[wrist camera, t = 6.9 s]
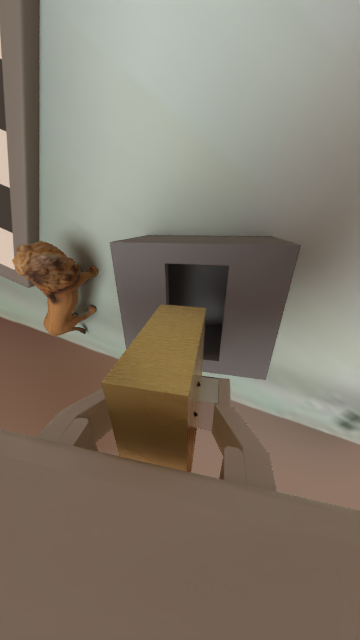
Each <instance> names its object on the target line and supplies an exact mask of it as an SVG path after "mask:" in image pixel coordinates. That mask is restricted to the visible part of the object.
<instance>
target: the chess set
mask: <svg viewBox="0 0 360 640" xmlns="http://www.w3.org/2000/svg"><path fill="white" fill-rule="evenodd" d="M37 242H39V0H0V275H1V276H3V277H5V278H7V279H10V280H12V281H14V282H16V283H19V284H21V285H23V286H25V287H28V288H30V287H33V286H35V285H34V284H33V283H32V281H31V280H27V279H26V277H25V276H20V275H18V273H17V272H16V269H15V267H14V264H13V261H12V259H14V256H16V255H17V250H16V248H17V246H18V245H22V244H28V245H29V244H33V243H37Z"/></svg>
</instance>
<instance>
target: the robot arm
mask: <svg viewBox="0 0 360 640" xmlns="http://www.w3.org/2000/svg"><path fill="white" fill-rule="evenodd" d="M194 427H195V428H200V429H205V430H209V431H212V433H213V436H214V438H215V440H216V442H217V444H218V446H219V448H220V451H221V452H222V455H223V461H222V466H221V472H220V478H219V479H218V478H213V477H209V476H205V475H200V474H196V473H191V472H187V471H182V470H178V469H173V468H169V467H165V466H160V465H156V464H151V463H147V462H142V461H138V460H133V459H129V458H124V457H120V456H115V455H111V454H107V453H102V452H98V449H97V446H96V442H97V441H98V440H99V439H101V438H102V437H103V436H104V435H105V434H106V433H107V432H109V431H110V430H111V429H112V424H111V420H110V416H109V412H108V408H107V404H106V400H105V396H104V392H103V388H102V389H100V390H98V391H96V392H95V393H93V394H91V395H89V396H88V397H86V398H84V399H82V400H80V401H78V402H77V403H75V404H73V405H71V406H69V407H67V408H65V409H64V410H62V411H60V412H59V413H58V414H57V415H56V416H55V417H54V418H53V419H52V420H51V422H50V423H49V424H48V425H47V426H46V427H45V429H44V430H43V431H42V432H41V433H40V434H39V435H38V437H37V438H35V437H31V436H27V435H22V434H17V433H13V432H9V431H4V430H0V640H360V510H356V509H351V508H346V507H342V506H338V505H333V504H329V503H325V502H320V501H316V500H311V499H307V498H302V497H298V496H294V495H289V494H285V493H280V492H277V491H276V486H275V481H274V475H273V470H272V465H271V460H270V456H269V453H268V452H267V450H266V449H265V447H264V446H263V445H262V443H261V442H260V441H259V439H258V438H257V437H256V435H255V434H254V433H253V431H252V430H251V429H250V427H249V426H248V425H247V423H246V422H245V421H244V419H243V418H242V417H241V415H240V414H239V413H238V411H237V410H236V409H235V407H232V406H231V398H230V380H229V379H223V378H214V377H206V376H199V380H198V388H197V393H196V399H195V420H194Z"/></svg>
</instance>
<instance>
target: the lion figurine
mask: <svg viewBox="0 0 360 640" xmlns="http://www.w3.org/2000/svg"><path fill="white" fill-rule="evenodd" d="M16 250H17V255H16V256H14V259H12V261H13V264H14V267H15V269H16V272H17V273H18V275H20V276H25V277H26V279H27V280H31V281H32V283H33V284H34V285H35V286H36V287H37V288H39V289H40V290H41V291H43V293H44V294H45V295H46V296H47V297H48V313H47V316H46V317H45V319H44V326H45V328H46V330H48V332H49V333H50V334H51V335H53V336H57V335H61V334H64V333H67V332H70V331H73V330H78V331H80V332H82V333H84V334H86V331H85V329H83V328H80V327H74V326H75V325H76V324H77V323H79V322H80V321H81V320H84V319H86V318H87V317H88V316H90V315H91V314H93V313H94V312H96V308H95V307H94V306H92V305H91V306H89V307H88V310H87V312H86V313H84V314H83V315H80V316H77V315H76V314H75V313H74V314H72V312H73V311H74V309H75V307H76V305H77V302H78V296H79V295H78V287H79V286H81V285H82V284H83V283H84V282H86V281H87V280H89V279H90V278H92V277H94V276H96V275H97V274H98V269H97V268H96V267H93V266H91V267H90V269H89V270H88V271H87V272H84V273H81V268H80V266H78V265H77V264H75V261H74V260H73V259H72V258H68V257H67V256H66V255H65V254H64V253H63V252H62V251H61V250H60V249H58V248H57V247H55V246H53V245H52V244H49V243H46V242H43V241H40V242H37V243H33V244H29V245H28V244H22V245H18V246H17V248H16Z"/></svg>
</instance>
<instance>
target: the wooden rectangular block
mask: <svg viewBox="0 0 360 640" xmlns="http://www.w3.org/2000/svg"><path fill="white" fill-rule="evenodd" d="M205 318H206V308H204V307H190V306H177V305H163V304H161V305H160V306H159V307H158V309H157V310H156V311H155V313H154V314H153V315H152V317H151V318H150V319H149V321H148V322H147V323H146V325H145V326H144V327H143V328H142V330H141V331H140V332H139V334H138V335H137V336H136V338H135V339H134V340H133V342H132V343H131V344H130V345H129V347H128V348H127V349H126V351H125V352H124V353H123V355H122V356H121V357H120V359H119V360H118V361H117V363H116V364H115V365H114V367H113V368H112V369H111V371H110V372H109V373H108V374H107V376H106V377H105V378H104V380H103V381H102V382H101V383H102V388H103V392H104V396H105V400H106V404H107V408H108V412H109V416H110V420H111V424H112V428H113V432H114V436H115V440H116V444H117V448H118V452H119V456H120V457H124V458H129V459H133V460H138V461H142V462H147V463H151V464H156V465H160V466H165V467H169V468H173V469H178V470H182V471H187V472H191V470H192V462H193V454H194V446H195V438H196V431H197V428H195V427H194V420H195V399H196V393H197V388H198V380H199V376H202V367H203V351H204V334H205Z"/></svg>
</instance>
